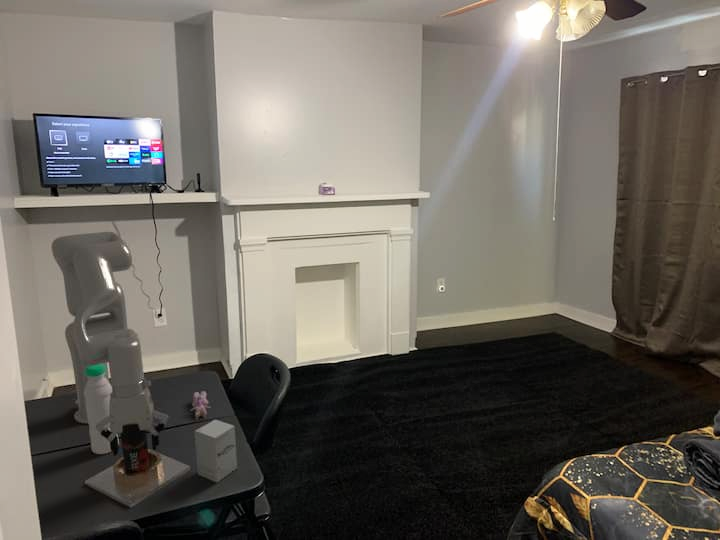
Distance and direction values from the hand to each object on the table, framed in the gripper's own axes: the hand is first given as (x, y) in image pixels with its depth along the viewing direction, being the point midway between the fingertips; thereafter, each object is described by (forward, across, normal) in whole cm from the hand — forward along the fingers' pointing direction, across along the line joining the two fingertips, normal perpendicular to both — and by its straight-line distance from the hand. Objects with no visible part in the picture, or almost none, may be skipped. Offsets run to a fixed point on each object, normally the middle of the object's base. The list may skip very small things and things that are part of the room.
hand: (135, 450), depth 139 cm
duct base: (+8, 0, 0) cm, 8 cm away
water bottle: (+8, +11, -17) cm, 22 cm away
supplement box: (+8, -20, +3) cm, 22 cm away
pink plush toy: (+8, -14, -35) cm, 38 cm away
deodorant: (+7, 0, 0) cm, 7 cm away
